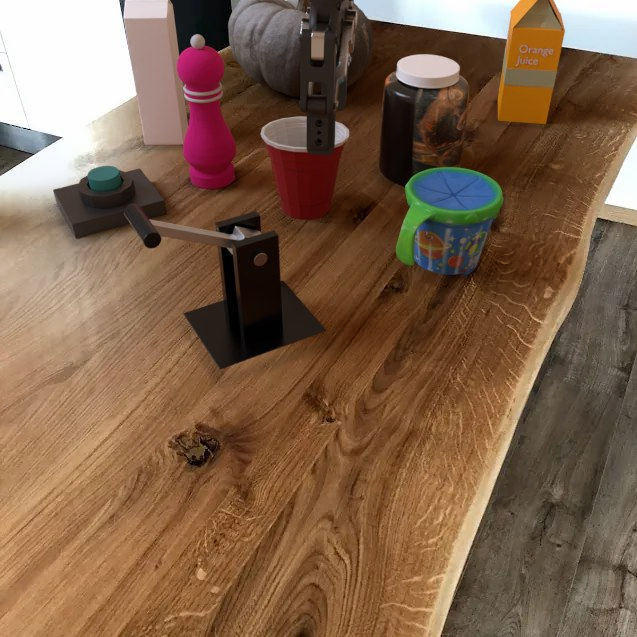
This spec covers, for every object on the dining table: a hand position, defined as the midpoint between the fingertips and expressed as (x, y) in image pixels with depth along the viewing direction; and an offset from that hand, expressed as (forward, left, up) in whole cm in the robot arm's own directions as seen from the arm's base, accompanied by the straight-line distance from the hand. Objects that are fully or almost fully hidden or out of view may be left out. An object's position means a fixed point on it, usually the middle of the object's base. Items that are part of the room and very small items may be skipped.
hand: (327, 129), depth 62 cm
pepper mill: (+3, +37, -23) cm, 44 cm away
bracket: (-6, +4, -23) cm, 24 cm away
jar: (+30, +25, -23) cm, 45 cm away
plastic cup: (+10, +22, -23) cm, 34 cm away
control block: (-12, +36, -23) cm, 45 cm away
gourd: (+31, +62, -23) cm, 73 cm away
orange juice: (+56, +33, -23) cm, 69 cm away
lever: (-12, +4, -11) cm, 16 cm away
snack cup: (+19, +4, -23) cm, 30 cm away
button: (-12, +36, -20) cm, 43 cm away
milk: (+2, +53, -23) cm, 58 cm away
